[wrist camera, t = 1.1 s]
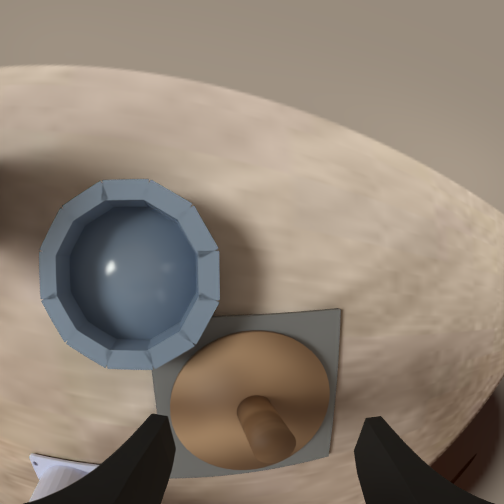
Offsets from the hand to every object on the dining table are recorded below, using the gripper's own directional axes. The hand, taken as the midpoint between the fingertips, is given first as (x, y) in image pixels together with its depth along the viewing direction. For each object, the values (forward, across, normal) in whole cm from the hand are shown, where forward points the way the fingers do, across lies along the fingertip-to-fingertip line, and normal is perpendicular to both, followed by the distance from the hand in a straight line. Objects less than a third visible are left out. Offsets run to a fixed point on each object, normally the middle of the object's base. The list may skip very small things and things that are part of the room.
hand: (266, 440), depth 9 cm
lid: (+10, +1, +7) cm, 12 cm away
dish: (+10, +9, -3) cm, 14 cm away
